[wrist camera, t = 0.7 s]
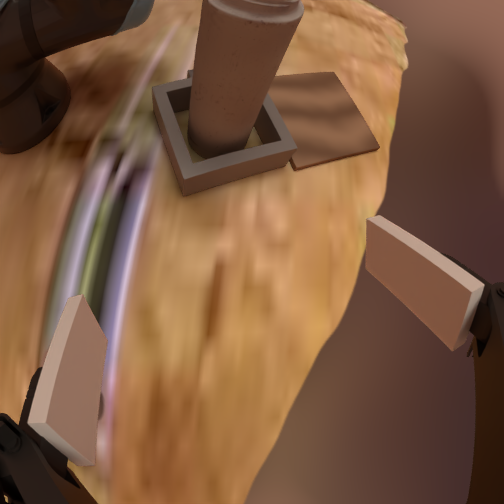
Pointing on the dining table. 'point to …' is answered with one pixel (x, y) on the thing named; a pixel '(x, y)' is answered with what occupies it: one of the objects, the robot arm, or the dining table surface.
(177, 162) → the collar
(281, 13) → the thermos bottle
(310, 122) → the board
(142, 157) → the dining table surface
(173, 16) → the dining table surface
